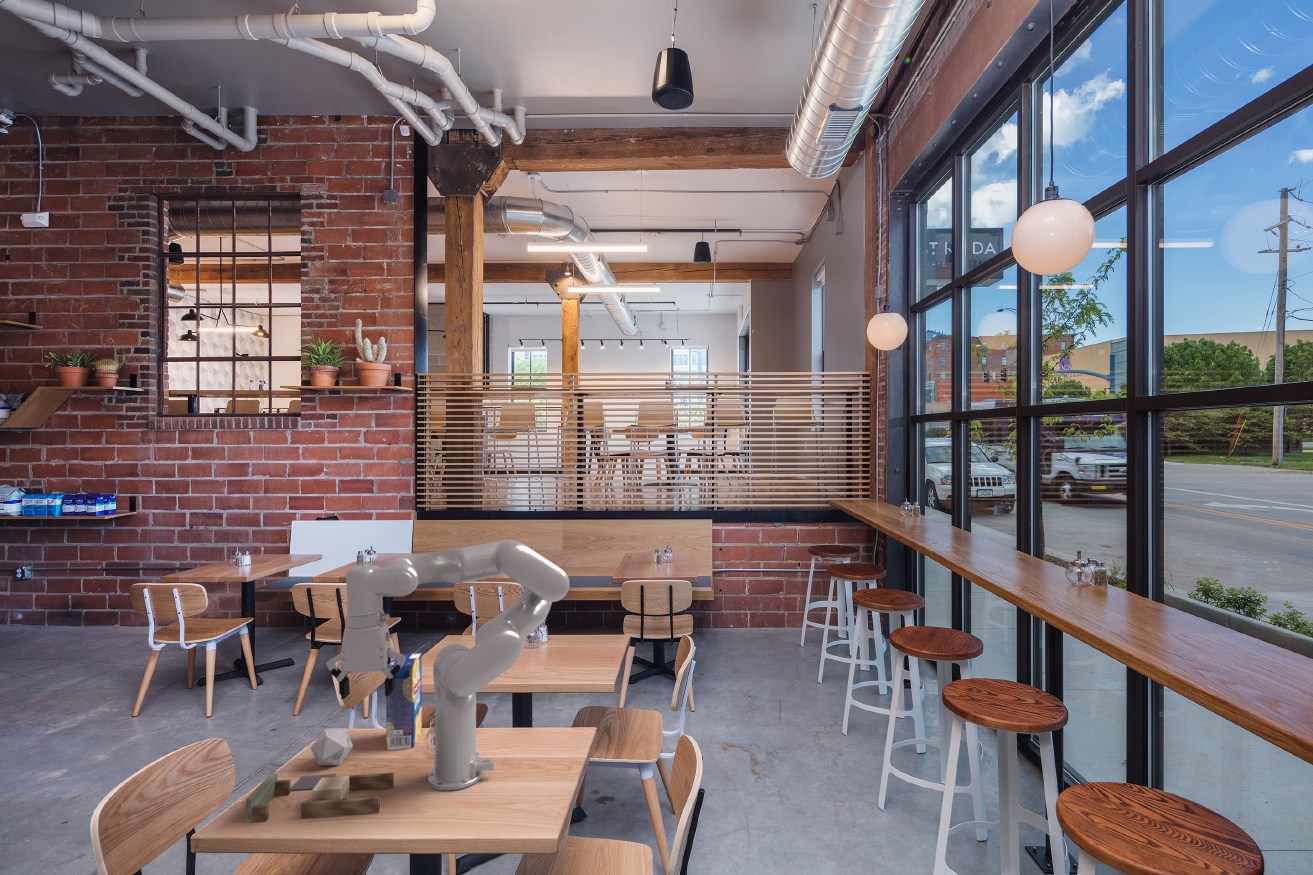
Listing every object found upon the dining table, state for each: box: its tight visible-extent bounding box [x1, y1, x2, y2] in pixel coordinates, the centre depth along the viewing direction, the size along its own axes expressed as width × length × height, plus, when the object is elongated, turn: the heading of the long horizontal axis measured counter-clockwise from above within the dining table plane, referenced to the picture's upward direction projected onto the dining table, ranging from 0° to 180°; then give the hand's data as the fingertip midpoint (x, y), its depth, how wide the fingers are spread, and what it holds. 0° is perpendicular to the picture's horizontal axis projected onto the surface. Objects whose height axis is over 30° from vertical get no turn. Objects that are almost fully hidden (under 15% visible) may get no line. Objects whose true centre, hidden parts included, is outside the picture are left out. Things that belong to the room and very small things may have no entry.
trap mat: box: [291, 773, 337, 792], centre depth 156 cm, size 8×7×1 cm
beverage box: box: [385, 652, 423, 751], centre depth 180 cm, size 7×11×22 cm, turn 8°
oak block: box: [311, 775, 350, 801], centre depth 147 cm, size 6×6×4 cm
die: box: [310, 728, 354, 767], centre depth 167 cm, size 8×9×10 cm
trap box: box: [245, 771, 395, 823], centre depth 147 cm, size 27×12×5 cm, turn 97°
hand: (367, 695), depth 149 cm, fingers open, 9 cm apart
